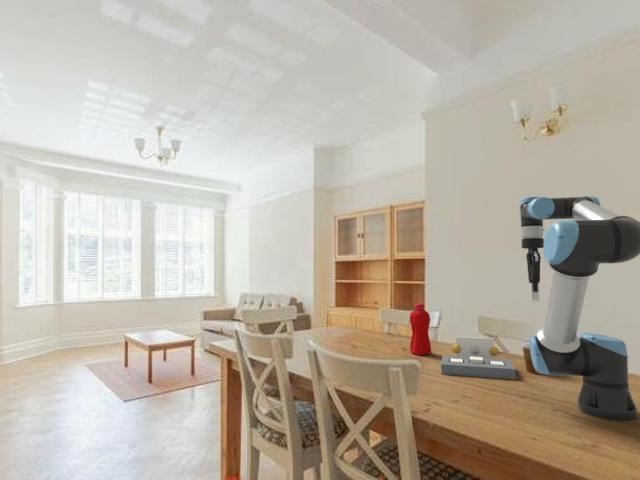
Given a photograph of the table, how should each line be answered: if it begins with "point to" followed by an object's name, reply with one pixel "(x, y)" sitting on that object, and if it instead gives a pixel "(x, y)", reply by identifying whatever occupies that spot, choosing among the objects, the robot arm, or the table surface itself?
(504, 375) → the button board
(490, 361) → the button right
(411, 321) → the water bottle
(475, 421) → the table surface
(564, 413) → the table surface
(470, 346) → the pattern sign
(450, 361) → the button left
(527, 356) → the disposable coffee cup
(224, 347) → the table surface
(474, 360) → the button middle
